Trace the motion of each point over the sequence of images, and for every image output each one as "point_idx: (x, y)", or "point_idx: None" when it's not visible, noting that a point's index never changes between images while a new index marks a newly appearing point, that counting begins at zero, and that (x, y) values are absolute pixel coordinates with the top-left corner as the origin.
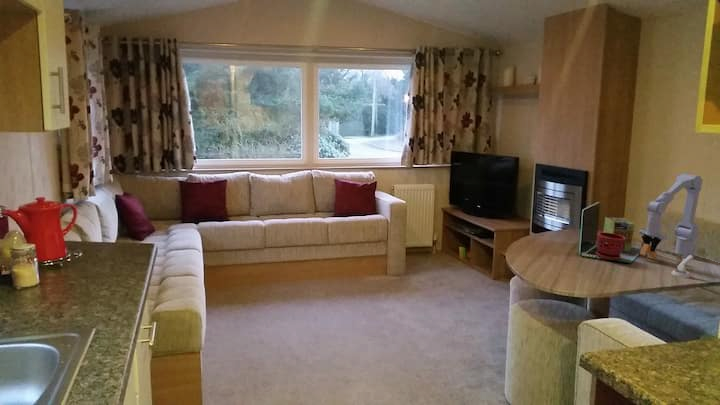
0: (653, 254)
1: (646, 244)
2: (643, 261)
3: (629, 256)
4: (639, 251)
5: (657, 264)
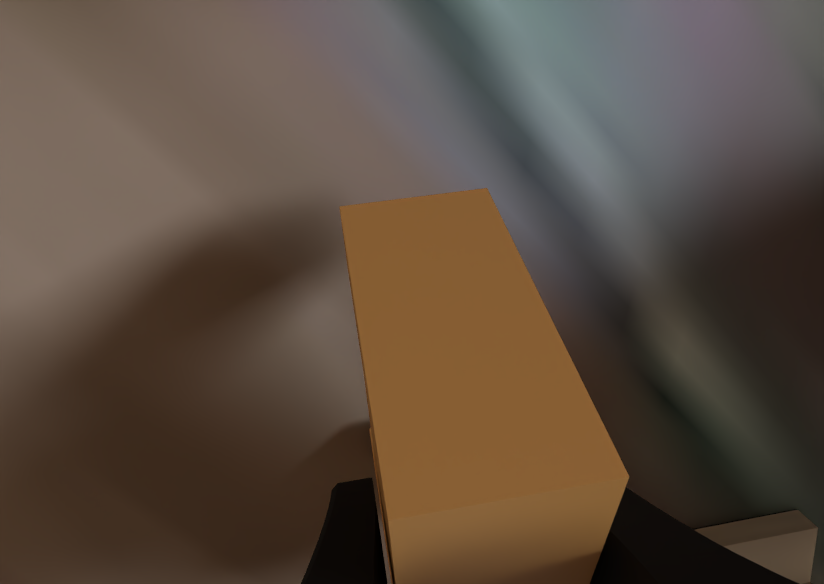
0: (383, 526)
1: (489, 479)
2: (286, 147)
3: (670, 120)
4: (790, 529)
5: (38, 306)
